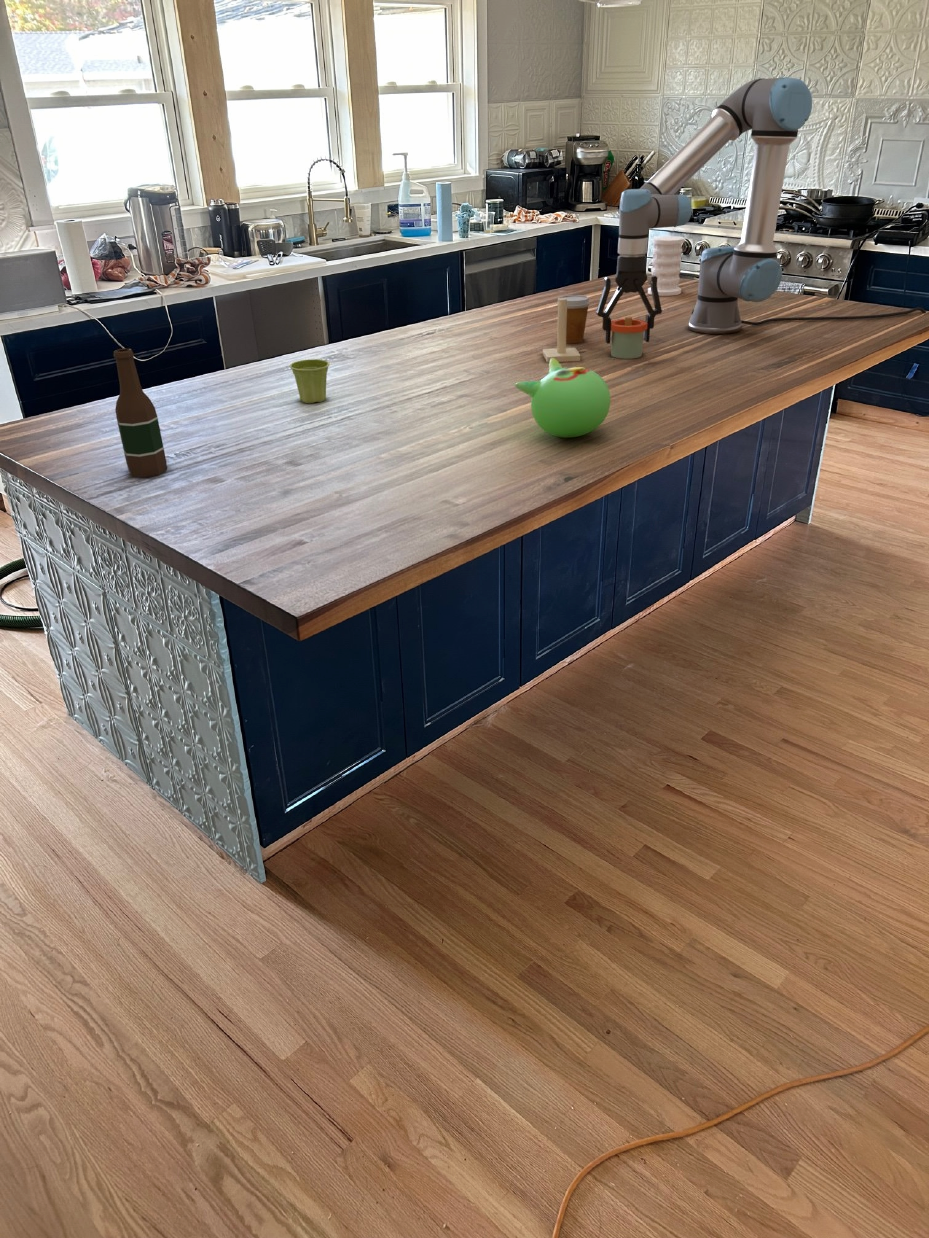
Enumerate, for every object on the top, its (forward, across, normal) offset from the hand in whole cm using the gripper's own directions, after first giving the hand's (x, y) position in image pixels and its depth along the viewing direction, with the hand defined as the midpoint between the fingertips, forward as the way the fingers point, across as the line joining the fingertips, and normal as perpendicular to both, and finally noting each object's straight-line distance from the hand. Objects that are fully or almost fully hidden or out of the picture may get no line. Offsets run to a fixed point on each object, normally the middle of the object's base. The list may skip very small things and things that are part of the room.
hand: (627, 341), depth 251 cm
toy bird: (+4, +26, +64) cm, 69 cm away
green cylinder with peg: (+4, 0, 0) cm, 4 cm away
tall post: (+4, +18, 0) cm, 18 cm away
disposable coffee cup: (+4, +12, -19) cm, 23 cm away
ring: (-3, 0, 0) cm, 3 cm away
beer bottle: (+4, +112, +75) cm, 135 cm away
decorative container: (+4, -31, -84) cm, 90 cm away
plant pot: (+4, +83, +30) cm, 88 cm away
